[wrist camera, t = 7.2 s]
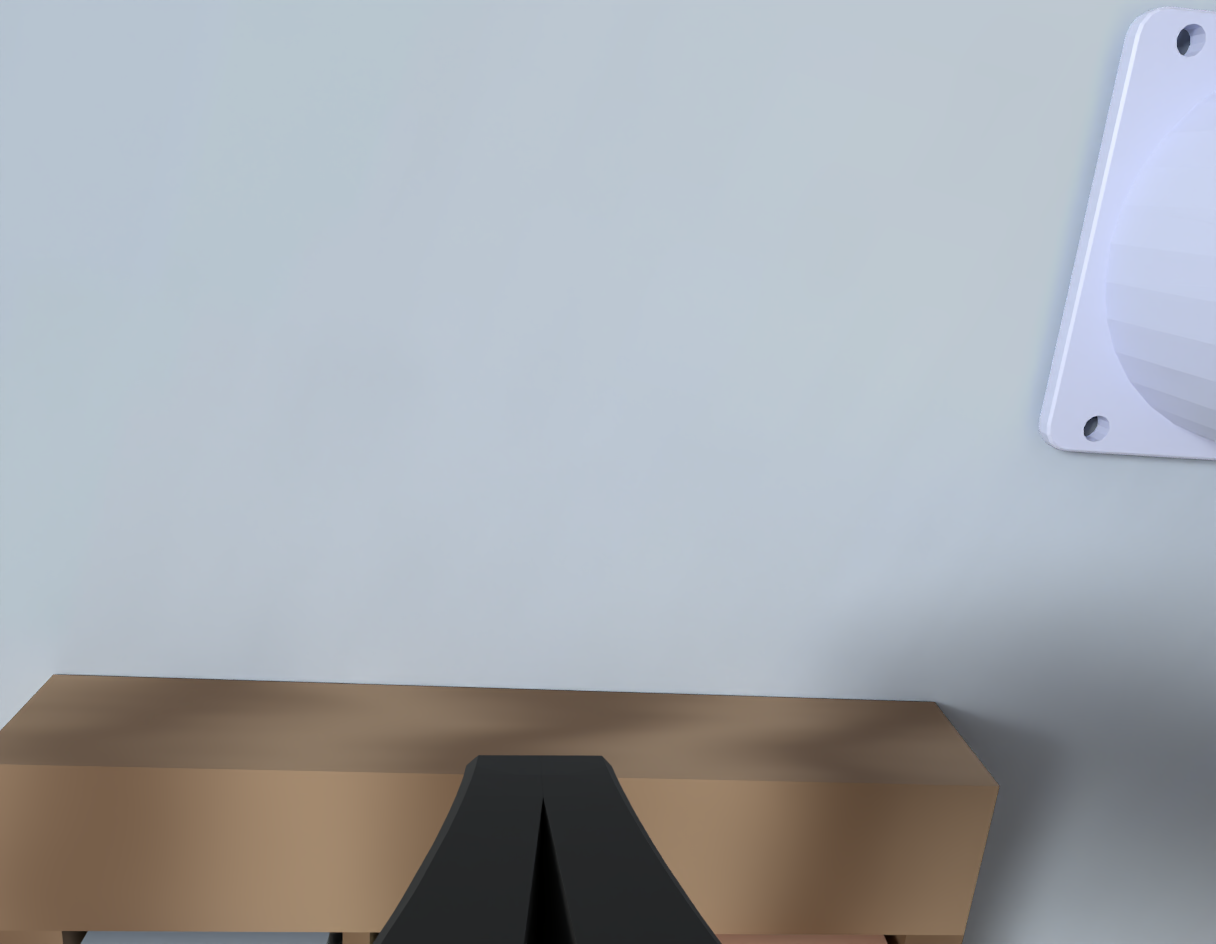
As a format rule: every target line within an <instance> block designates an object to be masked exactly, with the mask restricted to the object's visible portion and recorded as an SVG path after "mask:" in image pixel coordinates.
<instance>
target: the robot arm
mask: <svg viewBox="0 0 1216 944" xmlns="http://www.w3.org/2000/svg"><path fill="white" fill-rule="evenodd" d="M1182 29H1186V30H1187V32H1188V33H1189V35H1190V46H1189V48H1188V51H1187V53H1186V54H1184V55H1181V54H1180V53H1179V51H1178V49H1177V37H1178V35H1179V33H1180V31H1181V30H1182ZM1094 416H1097V418H1098V425H1097V427H1096V429H1095V431H1094V432H1092V433H1091V434H1090V435H1088V436H1084V426H1085V424H1086V422H1087V421H1088V420H1089V419H1091V418H1092V417H1094ZM1039 432H1040V435H1041V437H1042V439H1043V440H1044V441H1045V442H1046V443H1047V444H1049V445H1051V446H1052V447H1054V448H1056V449H1060V450H1063V451H1072V452H1089V453H1105V454H1121V455H1138V456H1154V457H1171V458H1187V459H1204V460H1216V12H1215V11H1206V10H1197V9H1189V8H1180V7H1171V6H1169V7H1160V8H1156V9H1152V10H1148V11H1146V12H1145V13H1143V14H1141V15H1139V16H1138V17H1137V18H1136V19H1135V20H1134V21H1133V23H1132V24H1131V25H1130V27H1129V29H1128V32H1127V34H1126V37H1125V40H1124V45H1123V49H1122V54H1121V58H1120V63H1119V67H1118V72H1117V76H1116V81H1115V85H1114V89H1113V94H1112V98H1111V103H1110V107H1109V112H1108V116H1107V121H1106V125H1105V130H1104V134H1103V138H1102V143H1101V147H1100V152H1099V156H1098V161H1097V165H1096V170H1095V174H1094V179H1093V183H1092V188H1091V192H1090V196H1089V201H1088V205H1087V210H1086V214H1085V219H1084V223H1083V228H1082V232H1081V237H1080V241H1079V245H1078V250H1077V254H1076V259H1075V263H1074V268H1073V272H1072V277H1071V281H1070V286H1069V290H1068V294H1067V299H1066V303H1065V308H1064V312H1063V317H1062V321H1061V326H1060V330H1059V335H1058V339H1057V344H1056V348H1055V352H1054V357H1053V361H1052V366H1051V370H1050V375H1049V379H1048V384H1047V388H1046V393H1045V397H1044V401H1043V406H1042V410H1041V415H1040V419H1039ZM373 944H722V943H721V942H720V941H719V939H718V938H717V937H716V935H715V934H714V932H713V931H712V930H711V928H710V927H709V926H708V924H707V923H706V921H705V920H704V919H703V917H702V916H701V915H700V913H699V912H698V910H697V909H696V907H695V906H694V904H693V903H692V901H691V900H690V898H689V897H688V895H687V894H686V892H685V891H684V889H683V888H682V887H681V885H680V884H679V882H678V881H677V879H676V878H675V876H674V875H673V873H672V872H671V870H670V869H669V867H668V866H667V864H666V863H665V861H664V859H663V858H662V856H661V855H660V853H659V852H658V850H657V848H656V847H655V845H654V844H653V842H652V840H651V838H650V837H649V835H648V833H647V832H646V830H645V828H644V827H643V825H642V823H641V822H640V820H639V818H638V816H637V815H636V813H635V811H634V809H633V807H632V806H631V804H630V802H629V800H628V798H627V796H626V794H625V793H624V791H623V789H622V787H621V785H620V783H619V781H618V779H617V777H616V774H615V772H614V770H613V768H612V766H611V765H610V764H609V763H608V762H607V760H606V759H605V758H604V757H603V756H592V755H478V756H477V757H476V758H474V759H473V760H472V761H471V762H470V763H468V764H467V765H466V768H465V772H464V776H463V779H462V782H461V784H460V787H459V789H458V792H457V795H456V797H455V799H454V802H453V804H452V806H451V808H450V810H449V813H448V815H447V817H446V819H445V821H444V823H443V825H442V827H441V829H440V831H439V833H438V835H437V837H436V839H435V841H434V843H433V845H432V847H431V848H430V850H429V852H428V854H427V855H426V857H425V859H424V861H423V862H422V864H421V866H420V868H419V869H418V871H417V873H416V875H415V876H414V878H413V880H412V882H411V883H410V885H409V887H408V889H407V890H406V892H405V894H404V896H403V897H402V899H401V901H400V902H399V904H398V906H397V907H396V909H395V910H394V912H393V914H392V915H391V917H390V918H389V920H388V921H387V923H386V924H385V926H384V927H383V929H382V930H381V932H380V933H379V935H378V936H377V938H376V939H375V941H374V942H373Z"/></svg>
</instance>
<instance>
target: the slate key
mask: <svg viewBox="0 0 1216 944" xmlns="http://www.w3.org/2000/svg"><path fill="white" fill-rule="evenodd" d="M81 944H343V932H177V931H88V932H87V934H86V935H85V937H84V939H83V940H82V942H81Z"/></svg>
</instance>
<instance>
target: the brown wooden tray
mask: <svg viewBox="0 0 1216 944" xmlns="http://www.w3.org/2000/svg"><path fill="white" fill-rule="evenodd" d="M478 755H592V756H603V757H604V758H605V759H606V760H607V762H608V763H609V764H610V765H611V766H612V768H613V770H614V772H615V774H616V777H617V779H618V781H619V783H620V785H621V787H622V789H623V791H624V793H625V794H626V796H627V798H628V800H629V802H630V804H631V806H632V807H633V809H634V811H635V813H636V815H637V816H638V818H639V820H640V822H641V823H642V825H643V827H644V828H645V830H646V832H647V833H648V835H649V837H650V838H651V840H652V842H653V844H654V845H655V847H656V848H657V850H658V852H659V853H660V855H661V856H662V858H663V859H664V861H665V863H666V864H667V866H668V867H669V869H670V870H671V872H672V873H673V875H674V876H675V878H676V879H677V881H678V882H679V884H680V885H681V887H682V888H683V889H684V891H685V892H686V894H687V895H688V897H689V898H690V900H691V901H692V903H693V904H694V906H695V907H696V909H697V910H698V912H699V913H700V915H701V916H702V917H703V919H704V920H705V921H706V923H707V924H708V926H709V927H710V928H711V930H712V931H713V932H714V934H819V935H884V937H885V939H886V941H887V943H888V944H962V941H963V936H964V932H965V928H966V924H967V920H968V916H969V911H970V907H971V903H972V899H973V895H974V891H975V886H976V882H977V878H978V874H979V870H980V865H981V861H982V857H983V853H984V849H985V845H986V840H987V836H988V832H989V828H990V824H991V820H992V815H993V811H994V807H995V803H996V799H997V795H998V790H999V785H998V784H997V782H996V781H995V780H994V778H993V777H992V776H991V774H990V773H989V772H988V771H987V769H986V768H985V767H984V765H983V764H982V763H981V762H980V760H979V759H978V758H977V756H976V755H975V754H974V752H973V751H972V750H971V749H970V747H969V746H968V745H967V743H966V742H965V741H964V740H963V738H962V737H961V736H960V734H959V733H958V732H957V730H956V729H955V728H954V727H953V725H952V724H951V723H950V721H949V720H948V719H947V718H946V716H945V715H944V714H943V712H942V711H941V710H940V708H939V707H938V706H937V705H936V703H935V702H913V701H881V700H849V699H817V698H785V697H753V696H721V695H689V694H657V693H625V692H594V691H562V690H530V689H498V688H466V687H434V686H402V685H370V684H338V683H306V682H274V681H242V680H210V679H178V678H146V677H114V676H82V675H53V676H52V677H51V678H50V679H49V680H48V681H47V682H46V683H45V684H44V685H43V686H42V687H41V688H40V689H39V690H38V691H37V693H36V694H35V695H34V696H33V697H32V698H31V699H30V700H29V701H28V702H27V703H26V704H25V705H24V706H23V707H22V708H21V709H20V711H19V712H18V713H17V714H16V715H15V716H14V717H13V718H12V719H11V720H10V721H9V722H8V723H7V724H6V725H5V726H4V728H3V729H2V730H1V731H0V944H81V942H82V940H83V939H84V937H85V935H86V934H87V932H88V931H177V932H343V944H373V942H374V941H375V939H376V938H377V936H378V935H379V933H380V932H381V930H382V929H383V927H384V926H385V924H386V923H387V921H388V920H389V918H390V917H391V915H392V914H393V912H394V910H395V909H396V907H397V906H398V904H399V902H400V901H401V899H402V897H403V896H404V894H405V892H406V890H407V889H408V887H409V885H410V883H411V882H412V880H413V878H414V876H415V875H416V873H417V871H418V869H419V868H420V866H421V864H422V862H423V861H424V859H425V857H426V855H427V854H428V852H429V850H430V848H431V847H432V845H433V843H434V841H435V839H436V837H437V835H438V833H439V831H440V829H441V827H442V825H443V823H444V821H445V819H446V817H447V815H448V813H449V810H450V808H451V806H452V804H453V802H454V799H455V797H456V795H457V792H458V789H459V787H460V784H461V782H462V779H463V776H464V772H465V768H466V765H467V764H468V763H470V762H471V761H472V760H473V759H474V758H476V757H477V756H478Z"/></svg>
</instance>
